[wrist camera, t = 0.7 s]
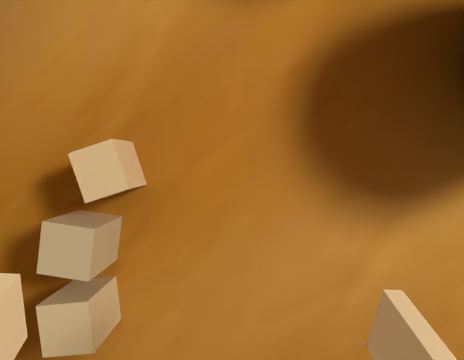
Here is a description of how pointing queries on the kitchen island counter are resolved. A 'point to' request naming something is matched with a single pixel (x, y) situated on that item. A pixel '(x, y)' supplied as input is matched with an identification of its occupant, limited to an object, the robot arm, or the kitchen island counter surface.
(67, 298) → the stone
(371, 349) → the robot arm
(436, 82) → the kitchen island counter surface
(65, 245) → the stone
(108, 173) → the stone
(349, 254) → the kitchen island counter surface
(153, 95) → the kitchen island counter surface
